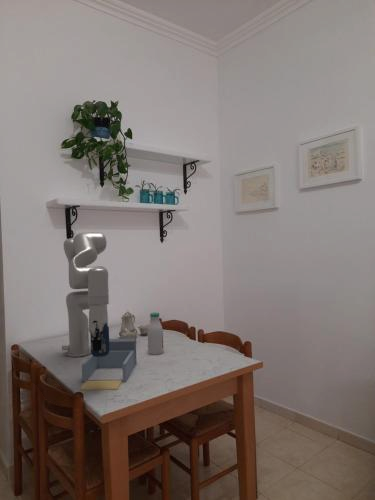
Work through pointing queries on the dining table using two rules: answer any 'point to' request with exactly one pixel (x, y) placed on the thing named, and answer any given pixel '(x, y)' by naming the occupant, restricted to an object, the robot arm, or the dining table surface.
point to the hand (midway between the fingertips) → (100, 346)
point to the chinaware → (130, 327)
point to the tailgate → (101, 385)
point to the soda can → (102, 343)
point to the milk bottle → (155, 335)
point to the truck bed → (113, 359)
